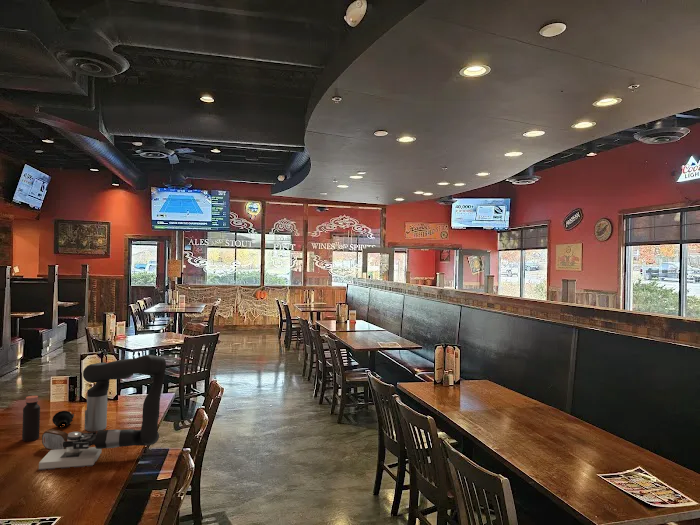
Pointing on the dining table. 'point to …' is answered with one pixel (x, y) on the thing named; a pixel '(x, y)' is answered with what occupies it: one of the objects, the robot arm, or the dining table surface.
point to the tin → (54, 439)
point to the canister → (69, 450)
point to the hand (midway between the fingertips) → (65, 441)
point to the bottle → (31, 419)
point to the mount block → (69, 459)
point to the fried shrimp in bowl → (62, 418)
